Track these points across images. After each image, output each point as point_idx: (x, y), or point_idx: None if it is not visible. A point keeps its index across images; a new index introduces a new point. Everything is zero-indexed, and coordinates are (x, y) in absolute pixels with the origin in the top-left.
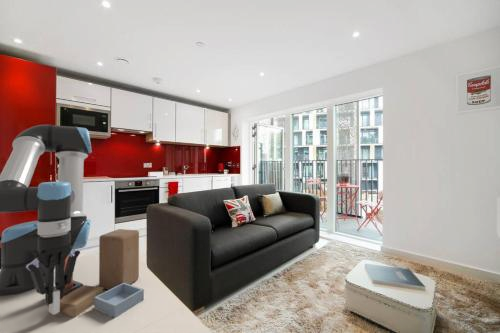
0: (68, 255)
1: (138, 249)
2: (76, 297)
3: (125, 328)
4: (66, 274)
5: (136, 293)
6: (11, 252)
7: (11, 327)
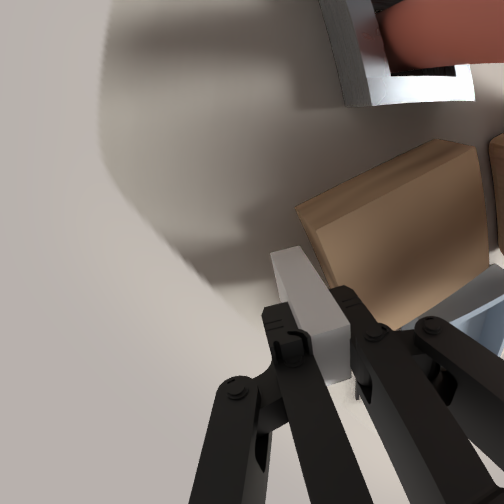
0: None
1: None
2: (400, 276)
3: (373, 431)
4: (457, 403)
5: None
6: None
7: (120, 184)
